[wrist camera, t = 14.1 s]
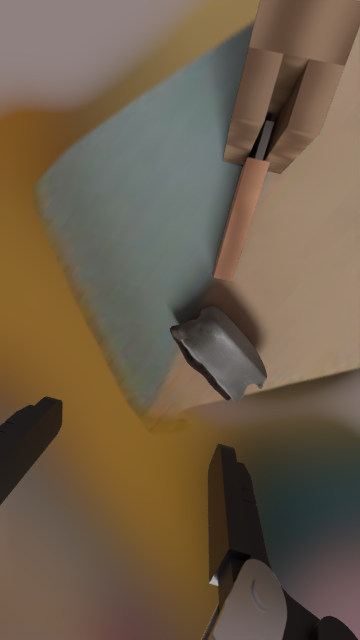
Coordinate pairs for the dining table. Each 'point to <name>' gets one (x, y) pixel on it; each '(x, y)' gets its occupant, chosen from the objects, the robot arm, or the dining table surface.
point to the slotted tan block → (290, 76)
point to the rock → (220, 353)
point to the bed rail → (243, 208)
